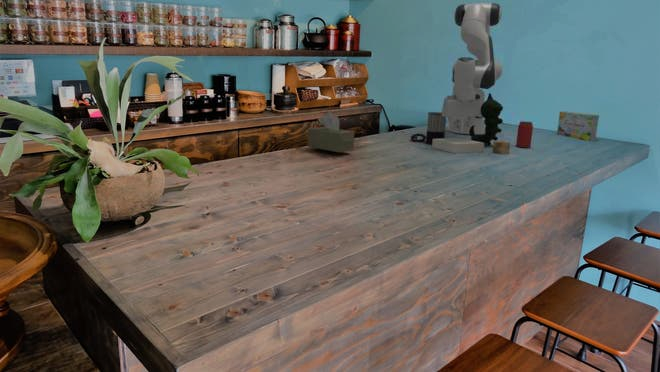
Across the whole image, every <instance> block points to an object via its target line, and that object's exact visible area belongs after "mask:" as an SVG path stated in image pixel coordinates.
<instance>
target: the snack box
mask: <svg viewBox="0 0 660 372" xmlns="http://www.w3.org/2000/svg"><path fill="white" fill-rule="evenodd" d="M599 117H600V115H599V114H592V113H584V112H574V111H567V110H565V111H564V110H561V111H559V116H558V125H557V131H556V135H558V136H563V137H568V138H572V139H577V140H582V141H586V142H596V138H597V133H598V125H599Z"/></svg>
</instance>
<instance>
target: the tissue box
mask: <svg viewBox="0 0 660 372" xmlns="http://www.w3.org/2000/svg"><path fill="white" fill-rule="evenodd" d="M339 120H340V119H339V116H338V115H337V114H334V115H333V112H331V111H328V112H327V113H325V115H322V116H320V117H319V118H318V122H319V123H320V124H322V125H323V126H321V127H319V126H318V127H309V128H308V129H307V130H308V131H307V147H309V148H313V149H320V150H323V151H324V150H325V151H329V152H334V153H335V152H336V153H343V152H344V153H345V152H350V151H354V147H355V146H354V144H355V131H354V130H348V129H347V130H345V129H341V128H340V121H339Z"/></svg>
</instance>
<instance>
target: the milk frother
mask: <svg viewBox="0 0 660 372" xmlns="http://www.w3.org/2000/svg"><path fill="white" fill-rule="evenodd" d="M446 125H447V117H443V116H442V111H441V112H437V111H431V112H430V111H429V112H427V126H426V127H427V128H426V135H425V134H423V133H415V134H412V135H411V136H410V140H411V141H413V142H416V143H420V142H424V141H425V144H427V145H432V142H433V139H444V138H445V136H446V130H445V129H446ZM418 137H422V138H421V139H418Z"/></svg>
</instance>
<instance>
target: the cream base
mask: <svg viewBox="0 0 660 372" xmlns="http://www.w3.org/2000/svg"><path fill="white" fill-rule="evenodd" d="M431 148H432V149H437V150H440V151H444V152H448V153H452V154H467V153H469V154H470V153H484V151H485V150H484V149H485V146H484V143H482V142H477V141H473V140H471V139H468V138H462V137H455V138H454V137H451V138H450V137H449V138H448V137H447V138H444V139H433V142H432V144H431Z"/></svg>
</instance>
